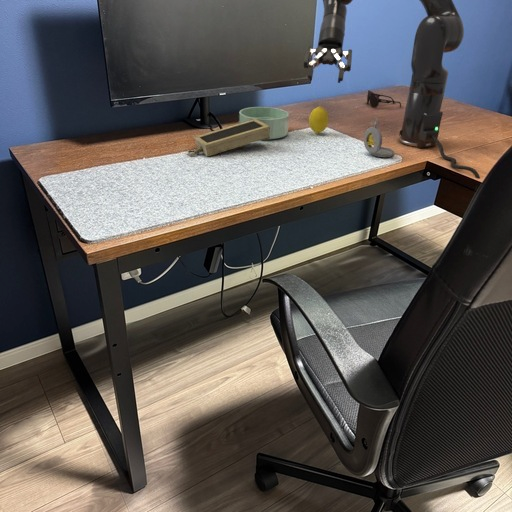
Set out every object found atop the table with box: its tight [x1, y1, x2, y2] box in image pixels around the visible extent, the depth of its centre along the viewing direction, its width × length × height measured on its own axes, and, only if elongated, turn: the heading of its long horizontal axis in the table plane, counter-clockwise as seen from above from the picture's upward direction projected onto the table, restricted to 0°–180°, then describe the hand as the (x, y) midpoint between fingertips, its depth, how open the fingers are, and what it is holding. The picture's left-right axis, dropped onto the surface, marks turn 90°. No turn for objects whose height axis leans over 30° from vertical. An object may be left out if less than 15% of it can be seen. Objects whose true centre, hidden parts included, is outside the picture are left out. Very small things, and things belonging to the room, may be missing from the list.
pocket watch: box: [363, 117, 395, 158], centre depth 127 cm, size 8×8×10 cm
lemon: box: [308, 105, 329, 135], centre depth 142 cm, size 6×6×8 cm
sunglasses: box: [366, 90, 402, 109], centre depth 178 cm, size 11×12×5 cm
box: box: [187, 119, 270, 157], centre depth 128 cm, size 8×22×5 cm, turn 119°
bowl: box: [238, 106, 290, 141], centre depth 141 cm, size 14×14×6 cm
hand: (324, 80), depth 146 cm, fingers open, 8 cm apart
